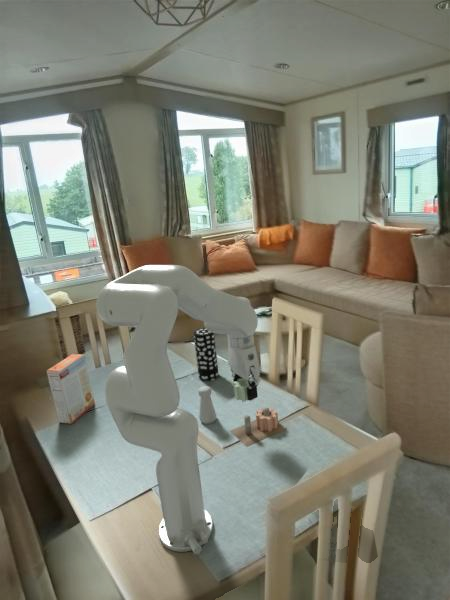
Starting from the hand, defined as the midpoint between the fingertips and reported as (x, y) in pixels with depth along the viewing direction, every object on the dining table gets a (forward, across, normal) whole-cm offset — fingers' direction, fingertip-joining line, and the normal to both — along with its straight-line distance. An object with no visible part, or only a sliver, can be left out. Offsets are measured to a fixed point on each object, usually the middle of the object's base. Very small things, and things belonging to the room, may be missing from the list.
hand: (245, 393), depth 125 cm
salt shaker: (+16, +15, +7) cm, 22 cm away
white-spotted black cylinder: (+16, +45, -9) cm, 48 cm away
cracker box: (+15, +51, +43) cm, 68 cm away
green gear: (+1, 0, 0) cm, 1 cm away
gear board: (+15, 0, -3) cm, 16 cm away
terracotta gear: (+14, 0, -7) cm, 16 cm away
